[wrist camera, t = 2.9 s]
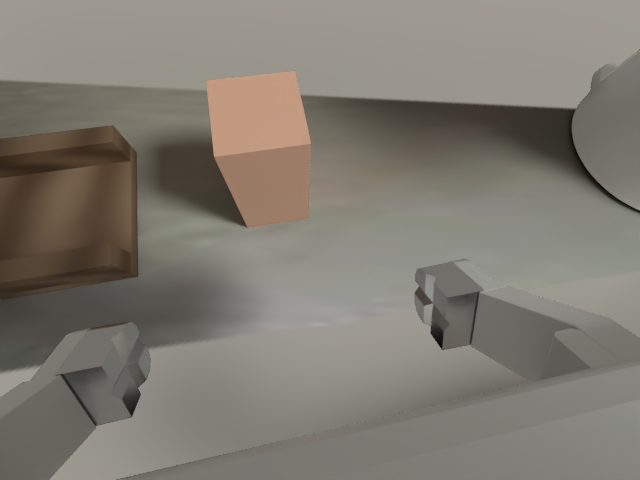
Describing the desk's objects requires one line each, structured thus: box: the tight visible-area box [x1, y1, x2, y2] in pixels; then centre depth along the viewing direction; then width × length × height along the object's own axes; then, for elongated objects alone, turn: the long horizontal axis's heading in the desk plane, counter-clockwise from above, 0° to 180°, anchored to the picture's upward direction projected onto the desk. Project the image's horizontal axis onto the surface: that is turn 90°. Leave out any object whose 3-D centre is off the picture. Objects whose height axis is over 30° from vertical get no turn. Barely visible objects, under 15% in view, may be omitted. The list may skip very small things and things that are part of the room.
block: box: [206, 71, 311, 228], centre depth 22 cm, size 5×5×10 cm
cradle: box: [0, 126, 138, 300], centre depth 23 cm, size 16×11×4 cm
